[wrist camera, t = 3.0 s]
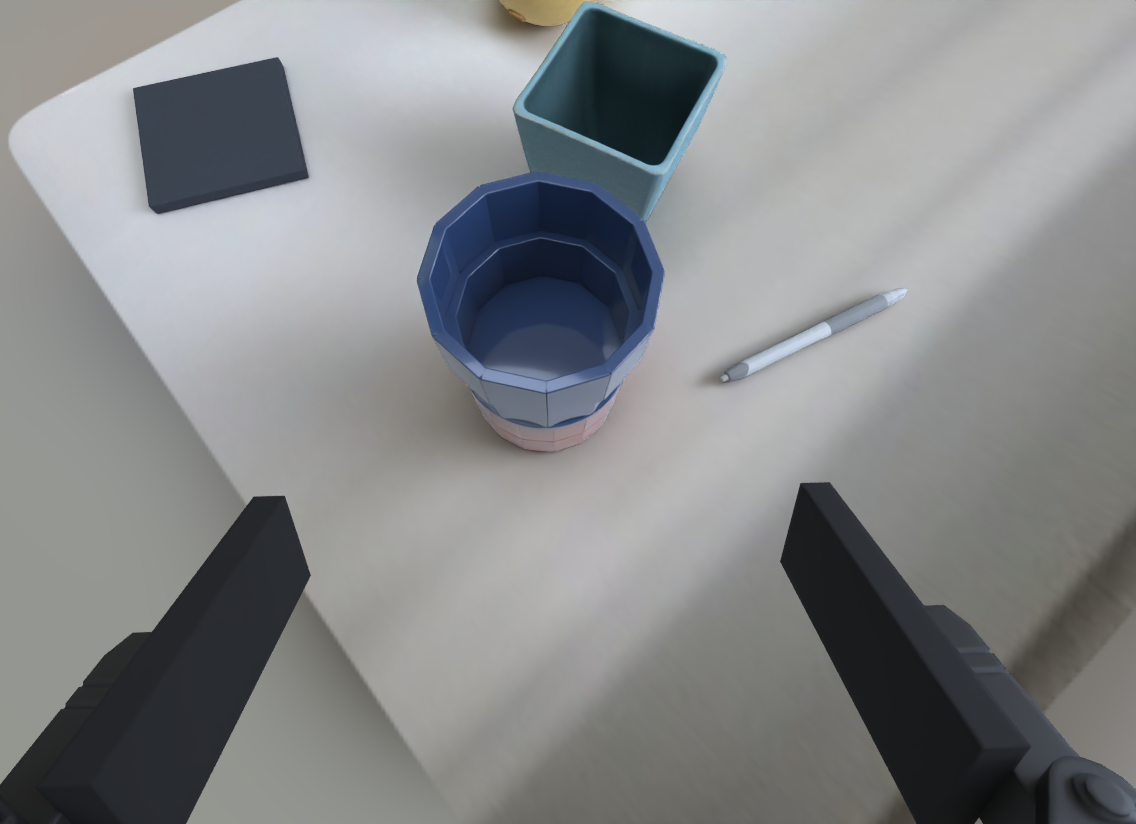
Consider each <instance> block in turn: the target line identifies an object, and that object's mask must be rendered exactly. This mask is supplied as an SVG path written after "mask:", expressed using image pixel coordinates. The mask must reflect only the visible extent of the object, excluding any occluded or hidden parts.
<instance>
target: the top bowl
mask: <svg viewBox="0 0 1136 824" xmlns="http://www.w3.org/2000/svg"><path fill="white" fill-rule="evenodd" d="M664 276H665V273H664V268H663V266H662V264H661V261H660V259H659V256H658V254H657V251H656V249H655V246H654V244H653V242H652V239H651V237H650V234H649V232H648V229H647V227H646V225H645V222H644V220H642V218H641V217H640V216H639V215H638V214H636V213H635V212H634V211H632V210H631V209H630V208H629V207H627V206H626V205H625V204H623V203H622V202H621V201H620V200H618V199H617V198H616V197H614V196H613V195H612V194H611V193H609V192H608V191H607V190H605V189H604V188H603V187H602V186H600V185H599V184H596V183H595V182H590V181H585V180H580V179H575V178H570V177H565V176H560V175H555V174H550V173H545V172H540V171H539V172H537V171H536V172H532V173H528V174H524V175H520V176H516V177H512V178H508V179H504V180H500V181H496V182H492V183H488V184H484V185H480V187H477V188H476V189H475V190H473V191H472V192H471V193H470V194H469V195H468V196H467V197H465V198H464V199H463V200H462V201H461V202H460V203H459V204H457V205H456V206H455V207H454V208H453V209H452V210H450V211H449V212H448V213H447V214H446V215H445V216H444V217H442V218H441V219H440V220H439V221H438V222H437V223H436V224H435V225H434V228H433V231H432V234H431V237H430V240H429V243H428V246H427V249H426V252H425V255H424V258H423V261H422V264H421V267H420V270H419V273H418V276H417V284H418V288H419V291H420V295H421V299H422V302H423V306H424V310H425V313H426V317H427V321H428V324H429V328H430V332H431V335H432V337H433V339H434V341H435V343H436V345H437V347H438V348H439V350H440V352H441V354H442V356H443V358H444V360H445V362H446V363H447V365H448V367H449V368H450V370H452V371H453V372H454V373H455V374H456V375H457V376H458V377H459V378H460V379H461V380H463V381H464V382H465V383H466V384H467V385H468V387H469V389H470V391H471V392H472V394H473V395H474V397H475V398H476V399H477V401H478V402H479V403H480V404H481V405H482V406H483V407H484V408H485V409H487V410H488V411H489V412H490V413H492V414H493V415H494V416H496V417H498V418H499V419H501V420H503V421H505V422H507V423H509V424H512V425H514V426H518V427H521V428H525V429H531V430H546V431H548V430H558V429H563V428H567V427H571V426H574V425H577V424H579V423H582V422H584V421H585V420H587V419H589V418H591V417H593V416H594V415H595V414H597V413H598V412H600V411H601V410H602V409H603V408H604V407H605V406H606V405H607V404H608V403H609V402H610V401H611V400H612V399H613V397H614V396H615V395H616V393H617V392H618V390H619V388H620V387H621V385H622V382H623V380H624V378H625V377H626V376H627V375H628V374H629V373H630V372H631V371H632V370H633V369H634V368H635V367H636V365H637V364H638V363H639V362H640V360H641V358H642V356H643V354H644V351H645V349H646V347H647V344H648V342H649V340H650V337H651V335H652V333H653V331H654V328H655V324H656V318H657V313H658V308H659V302H660V297H661V292H662V286H663V281H664Z"/></svg>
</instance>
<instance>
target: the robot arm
mask: <svg viewBox="0 0 1136 824" xmlns="http://www.w3.org/2000/svg"><path fill="white" fill-rule="evenodd" d="M780 562H781V564H782V566H783V568H784V570H785V572H786V574H787V576H788V578H789V579H790V581H791V583H792V585H793V587H794V589H795V591H796V593H797V595H798V597H799V599H800V601H801V602H802V604H803V606H804V608H805V610H806V612H807V614H808V616H809V618H810V620H811V622H812V624H813V625H814V627H815V629H816V631H817V633H818V635H819V637H820V639H821V641H822V643H823V645H824V647H825V649H826V650H827V652H828V654H829V656H830V658H831V660H832V662H833V664H834V666H835V668H836V670H837V672H838V673H839V675H840V677H841V679H842V681H843V683H844V685H845V687H846V689H847V691H848V693H849V695H850V696H851V698H852V700H853V702H854V704H855V706H856V708H857V710H858V712H859V714H860V716H861V718H862V720H863V721H864V723H865V725H866V727H867V729H868V731H869V733H870V735H871V737H872V739H873V741H874V743H875V744H876V746H877V748H878V750H879V752H880V754H881V756H882V758H883V760H884V762H885V764H886V766H887V767H888V769H889V771H890V773H891V775H892V777H893V779H894V781H895V783H896V785H897V787H898V789H899V790H900V792H901V794H902V796H903V798H904V800H905V802H906V804H907V806H908V808H909V810H910V812H911V814H912V815H913V817H914V819H915V821H916V823H917V824H975V822H976V821H977V819H978V818H980V819H981V821H982V823H983V824H1136V789H1135V788H1134V787H1133V786H1132V785H1131V784H1129V783H1128V782H1127V781H1126V780H1125V779H1124V778H1123V777H1121V776H1119V775H1118V774H1116V773H1114V772H1113V771H1111V770H1110V769H1108V768H1106V767H1105V766H1103V765H1101V764H1099V763H1096V762H1093V761H1091V760H1088V759H1085V758H1082V757H1080V756H1079V755H1078V754H1077V753H1076V752H1075V751H1074V750H1073V748H1071V747H1070V745H1069V744H1068V743H1067V742H1066V741H1065V739H1064V738H1063V737H1062V736H1061V734H1060V733H1059V732H1058V731H1057V729H1056V728H1055V727H1054V726H1053V725H1052V723H1050V721H1049V720H1048V719H1047V717H1046V716H1045V715H1044V714H1043V713H1042V711H1041V710H1040V709H1039V708H1038V706H1037V705H1036V704H1035V703H1034V702H1033V700H1032V699H1031V698H1030V697H1029V696H1028V694H1027V693H1026V692H1025V691H1024V690H1023V688H1022V687H1021V686H1020V685H1019V683H1018V682H1017V681H1016V680H1015V679H1014V677H1013V676H1012V675H1011V674H1010V673H1007V672H1006V668H1005V667H1004V665H1003V664H1002V663H1001V662H1000V660H999V659H998V658H997V657H996V656H995V654H994V653H991V652H990V648H989V647H988V646H987V645H986V644H985V642H984V641H983V640H982V639H981V637H980V636H979V635H978V634H977V633H976V631H975V630H974V629H973V628H972V627H971V625H970V624H968V623H967V622H966V621H964V620H963V619H962V618H960V617H959V616H958V615H956V614H955V613H954V612H952V611H951V610H950V609H948V608H947V607H946V606H945V605H933V606H924V605H923V604H922V602H921V601H920V600H919V599H918V597H917V596H916V595H915V593H914V592H913V591H912V589H911V588H910V587H909V585H908V584H907V583H906V582H905V580H904V579H903V578H902V576H901V575H900V574H899V572H898V571H897V570H896V568H895V567H894V566H893V565H892V563H891V562H890V561H889V559H888V558H887V557H886V555H885V554H884V553H883V551H882V550H881V549H880V548H879V546H878V545H877V544H876V542H875V541H874V540H873V538H872V537H871V536H870V534H869V533H868V532H867V531H866V529H865V528H864V527H863V525H862V524H861V523H860V521H859V520H858V519H857V517H856V516H855V515H854V514H853V512H852V511H851V510H850V508H849V507H848V506H847V504H846V503H845V502H844V500H843V499H842V498H841V497H840V495H839V494H838V493H837V491H836V490H835V489H834V487H833V486H832V485H831V483H830V482H827V483H800V487H799V491H798V495H797V499H796V503H795V507H794V510H793V514H792V518H791V522H790V526H789V530H788V534H787V537H786V541H785V545H784V549H783V553H782V557H781V561H780ZM310 576H311V575H310V572H309V569H308V566H307V563H306V560H305V556H304V553H303V550H302V547H301V544H300V541H299V538H298V535H297V532H296V529H295V526H294V523H293V520H292V517H291V513H290V510H289V507H288V504H287V501H286V498H285V496H260V497H253V498H252V500H251V501H250V502H249V504H248V505H247V506H246V508H245V509H244V510H243V512H242V513H241V514H240V516H239V517H238V518H237V520H236V521H235V522H234V524H233V525H232V526H231V528H230V529H229V530H228V532H227V533H226V534H225V535H224V537H223V538H222V539H221V541H220V542H219V544H218V545H217V546H216V547H215V549H214V550H213V552H212V553H211V554H210V555H209V557H208V558H207V559H206V561H205V562H204V564H203V565H202V566H201V567H200V569H199V570H198V571H197V573H196V574H195V576H194V577H193V578H192V579H191V581H190V582H189V583H188V585H187V586H186V587H185V589H184V590H183V591H182V593H181V594H180V595H179V597H178V598H177V599H176V601H175V602H174V603H173V605H172V606H171V607H170V609H169V610H168V611H167V613H166V614H165V615H164V617H163V618H162V619H161V621H160V622H159V623H158V625H157V626H156V627H155V629H154V630H153V631H152V632H143V633H142V632H141V633H132V634H131V635H129V636H128V637H127V638H126V639H124V640H123V641H122V642H121V643H119V644H118V645H117V646H116V647H114V648H113V649H112V650H111V651H109V652H108V653H107V654H106V655H104V657H103V658H102V659H101V660H100V662H99V663H98V664H97V665H96V667H95V668H94V669H93V671H92V672H91V673H90V674H89V675H88V676H87V678H86V679H85V680H84V681H83V686H82V687H79V688H78V689H77V690H76V691H75V693H74V694H73V695H72V696H71V698H70V699H69V700H68V701H67V703H66V707H65V708H64V709H61V710H60V711H59V712H58V714H57V715H56V716H55V717H54V719H53V720H52V721H51V722H50V724H49V725H48V726H47V727H46V728H45V730H44V731H43V732H42V733H41V735H40V736H39V737H38V738H37V740H36V741H35V742H34V743H33V745H32V746H31V747H30V748H29V750H28V751H27V752H26V753H25V754H24V756H23V757H22V758H21V760H20V761H19V762H18V763H17V764H16V766H15V767H14V768H13V769H12V771H11V772H10V773H9V774H8V776H7V777H6V778H5V779H4V781H3V782H2V783H1V784H0V824H186V823H187V821H188V819H189V817H190V815H191V813H192V811H193V809H194V807H195V805H196V803H197V801H198V799H199V797H200V795H201V793H202V790H203V789H204V787H205V785H206V783H207V781H208V779H209V777H210V775H211V773H212V771H213V769H214V767H215V765H216V763H217V761H218V759H219V757H220V755H221V753H222V751H223V749H224V747H225V745H226V743H227V741H228V739H229V737H230V735H231V733H232V731H233V729H234V727H235V725H236V723H237V721H238V719H239V717H240V715H241V713H242V711H243V709H244V707H245V705H246V703H247V701H248V699H249V697H250V695H251V693H252V691H253V689H254V687H255V685H256V683H257V681H258V679H259V677H260V675H261V673H262V671H263V669H264V667H265V665H266V663H267V661H268V659H269V657H270V655H271V653H272V651H273V649H274V647H275V645H276V644H277V641H278V639H279V638H280V635H281V633H282V631H283V630H284V628H285V626H286V624H287V621H288V620H289V618H290V616H291V614H292V612H293V609H294V608H295V606H296V604H297V602H298V600H299V598H300V596H301V594H302V592H303V590H304V588H305V586H306V584H307V582H308V580H309V578H310Z"/></svg>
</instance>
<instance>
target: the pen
mask: <svg viewBox="0 0 1136 824" xmlns="http://www.w3.org/2000/svg"><path fill="white" fill-rule="evenodd" d="M907 291H908V289H906V288H899V289H895V290H891V291H889V292H885V293H883V294H881V295H877V296H875V297H873V298H871V299H869V300H867V301H865V302H862V303H860V304H858V305H856V306H854V307H852V308H850V309H848V310H846V311H844V312H842V313H840V314H838V315H835V316H833V317H831V318H829V319H827V320H825V321H823V322H821V323H819V324H817V325H816V326H814V327H812V328H810V329H808V330H806V331H804V332H802V333H800V334H797V335H795V336H793V337H791V338H789V339H787V340H785V341H783V342H781V343H779V344H777V345H775V346H773V347H770V348H768V349H766V350H764V351H762V352H760V353H758V354H756V355H754V356H752V357H750V358H748V359H746V360H743V361H741V362H739V363H737V364H735V365H734V366H732V367H730V368H729V369H727V370H726V371H725V372H724V375H722V376H721V377H720V380H721V381H722V382H725V381H729V382H730V381H735V380H739V379H742V378H745V377H747V376H749V375H751V374H753V373H755V372H757V371H759V370H761V369H763V368H765V367H766V366H768V365H770V364H772V363H774V362H776V361H778V360H780V359H782V358H784V357H786V356H788V355H790V354H792V353H794V352H796V351H799V350H801V349H803V348H805V347H807V346H809V345H811V344H813V343H815V342H817V341H819V340H821V339H824V338H826V337H829V336H831V335H833V334H835V333H837V332H839V331H841V330H843V329H845V328H847V327H849V326H851V325H854V324H856V323H858V322H860V321H862V320H864V319H866V318H868V317H870V316H872V315H874V314H876V313H878V312H880V311H882V310H884V309H886V308H887V307H889V306H891V305H893V304H894V303H896V302H897V301H899V300H900V299H901V298H902V297H903V296H904V295H905V294H906V293H907Z"/></svg>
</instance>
